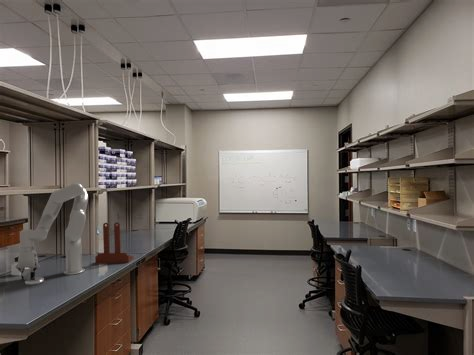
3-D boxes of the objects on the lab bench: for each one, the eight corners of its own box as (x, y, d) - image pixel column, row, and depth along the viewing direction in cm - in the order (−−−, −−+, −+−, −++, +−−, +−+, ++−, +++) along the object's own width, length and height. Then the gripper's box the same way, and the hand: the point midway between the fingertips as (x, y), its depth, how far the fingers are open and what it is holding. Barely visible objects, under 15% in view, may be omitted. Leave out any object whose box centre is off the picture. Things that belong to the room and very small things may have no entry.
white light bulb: (26, 278, 214) (26, 268, 214) (34, 277, 214) (33, 268, 214) (20, 281, 207) (20, 271, 207) (28, 280, 208) (28, 271, 208)
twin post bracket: (133, 258, 259) (132, 219, 259) (128, 262, 246) (127, 222, 246) (102, 259, 258) (101, 220, 258) (95, 263, 245) (94, 223, 245)
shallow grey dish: (30, 280, 209) (30, 277, 209) (47, 279, 209) (47, 276, 209) (21, 285, 199) (21, 282, 199) (38, 284, 199) (38, 281, 199)
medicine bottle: (29, 272, 226) (28, 254, 226) (20, 275, 219) (19, 257, 219) (20, 272, 228) (19, 254, 228) (11, 275, 221) (10, 257, 221)
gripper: (44, 247, 216) (45, 275, 216) (16, 248, 214) (17, 276, 215) (38, 250, 208) (39, 279, 208) (9, 251, 207) (10, 280, 207)
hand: (28, 277), depth 211 cm, fingers closed on white light bulb, 4 cm apart
